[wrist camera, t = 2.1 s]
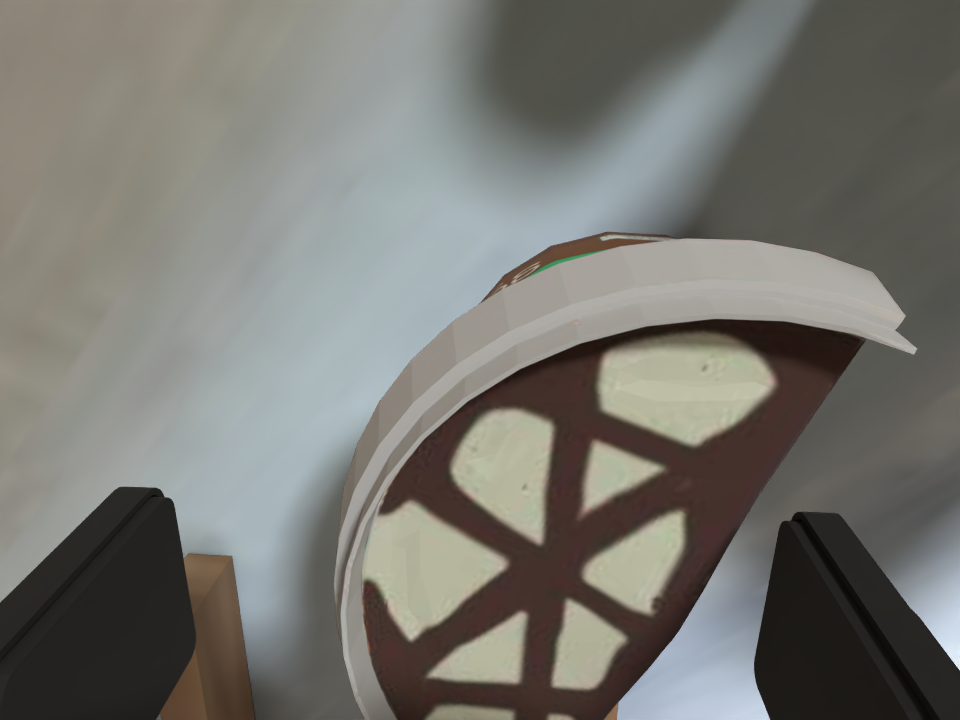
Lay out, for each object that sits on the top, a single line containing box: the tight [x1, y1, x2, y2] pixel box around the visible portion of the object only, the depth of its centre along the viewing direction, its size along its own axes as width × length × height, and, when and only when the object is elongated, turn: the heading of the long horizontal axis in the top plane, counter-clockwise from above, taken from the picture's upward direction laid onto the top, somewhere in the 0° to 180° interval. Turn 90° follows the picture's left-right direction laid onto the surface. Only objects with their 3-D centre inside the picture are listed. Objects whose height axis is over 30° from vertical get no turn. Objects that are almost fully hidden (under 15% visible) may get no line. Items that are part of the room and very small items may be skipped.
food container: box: [334, 232, 917, 720], centre depth 15 cm, size 12×6×10 cm, turn 157°
